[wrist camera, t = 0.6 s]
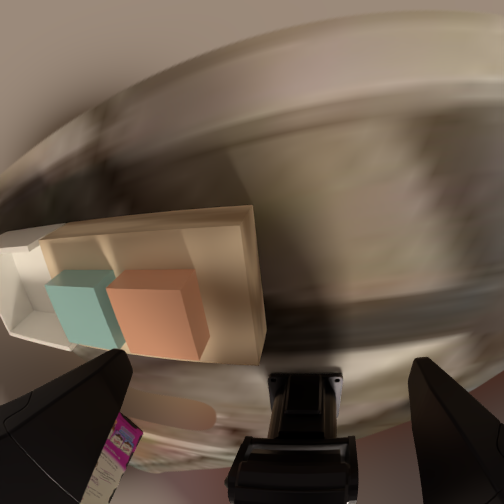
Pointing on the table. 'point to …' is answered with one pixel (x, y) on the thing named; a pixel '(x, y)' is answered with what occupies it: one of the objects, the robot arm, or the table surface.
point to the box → (28, 289)
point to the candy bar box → (112, 461)
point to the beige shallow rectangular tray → (181, 266)
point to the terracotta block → (160, 312)
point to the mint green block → (86, 307)
